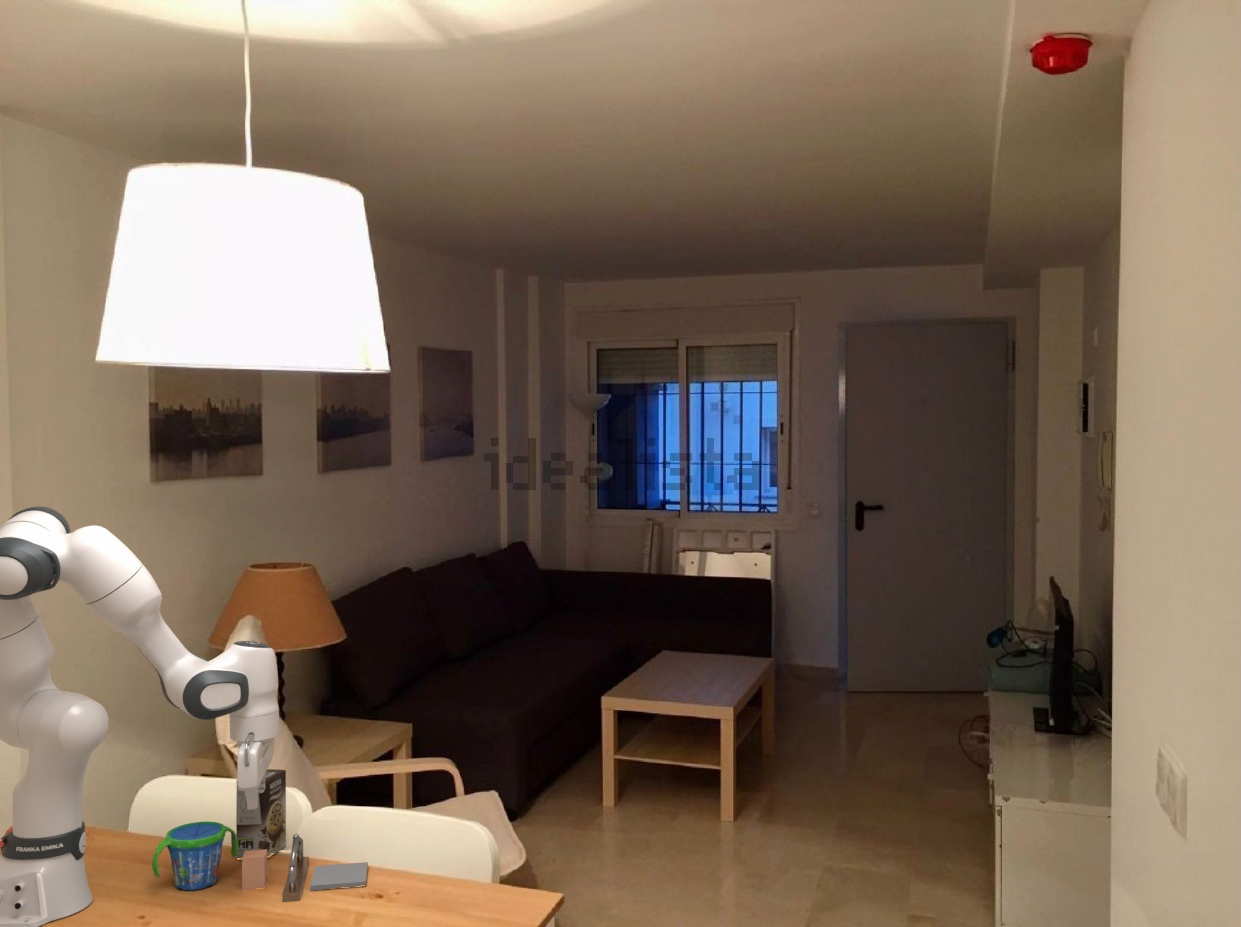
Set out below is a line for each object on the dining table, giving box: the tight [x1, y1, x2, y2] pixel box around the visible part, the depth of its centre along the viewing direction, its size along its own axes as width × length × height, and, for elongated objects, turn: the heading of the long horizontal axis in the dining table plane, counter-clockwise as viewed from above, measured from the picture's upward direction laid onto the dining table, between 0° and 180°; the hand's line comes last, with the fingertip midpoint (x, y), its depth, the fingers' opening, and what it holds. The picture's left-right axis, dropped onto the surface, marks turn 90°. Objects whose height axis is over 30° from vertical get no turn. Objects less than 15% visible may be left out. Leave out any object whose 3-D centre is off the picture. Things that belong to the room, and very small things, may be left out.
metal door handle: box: [281, 833, 310, 903], centre depth 203 cm, size 3×18×9 cm, turn 11°
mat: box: [309, 861, 369, 892], centre depth 205 cm, size 10×10×1 cm
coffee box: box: [235, 768, 287, 859], centre depth 218 cm, size 9×6×16 cm
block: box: [241, 849, 268, 891], centre depth 202 cm, size 4×4×6 cm
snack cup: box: [151, 821, 239, 891], centre depth 202 cm, size 16×10×10 cm
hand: (256, 800), depth 202 cm, fingers open, 8 cm apart
